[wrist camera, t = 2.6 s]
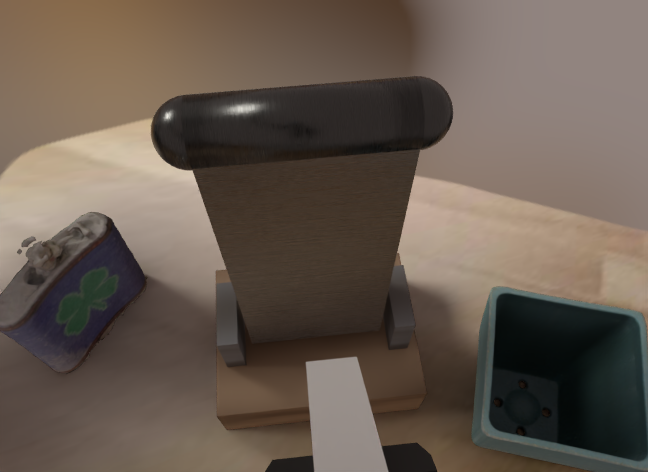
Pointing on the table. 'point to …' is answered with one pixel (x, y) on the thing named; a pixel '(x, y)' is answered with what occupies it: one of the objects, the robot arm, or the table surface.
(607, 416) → the flower pot
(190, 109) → the lever
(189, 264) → the table surface
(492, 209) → the table surface
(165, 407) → the table surface
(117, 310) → the flask
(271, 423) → the base
